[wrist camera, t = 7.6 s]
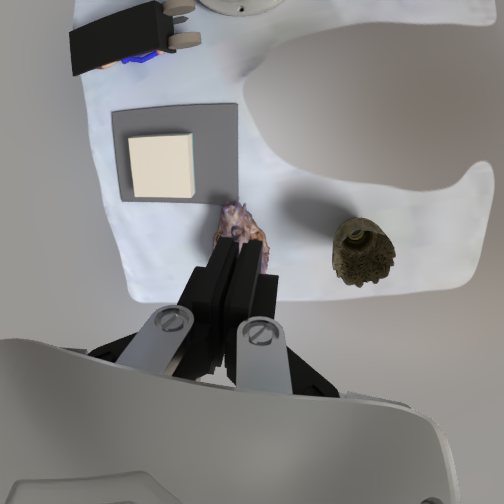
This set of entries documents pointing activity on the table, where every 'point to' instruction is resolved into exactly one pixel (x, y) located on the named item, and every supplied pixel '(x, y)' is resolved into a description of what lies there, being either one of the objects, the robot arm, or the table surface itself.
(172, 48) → the figurine character
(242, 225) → the skull
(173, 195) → the tile
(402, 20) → the table surface
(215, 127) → the mat
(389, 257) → the cup
